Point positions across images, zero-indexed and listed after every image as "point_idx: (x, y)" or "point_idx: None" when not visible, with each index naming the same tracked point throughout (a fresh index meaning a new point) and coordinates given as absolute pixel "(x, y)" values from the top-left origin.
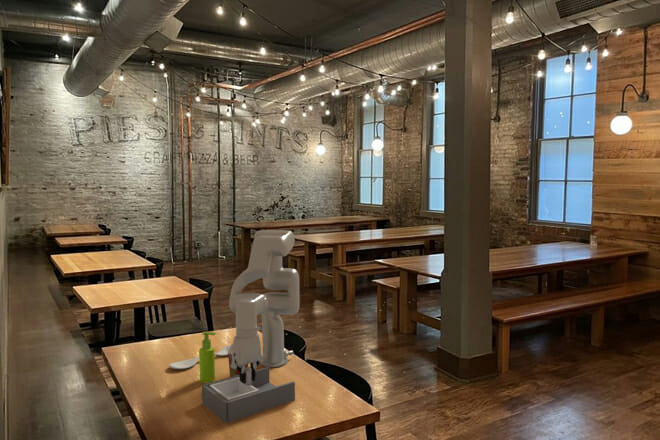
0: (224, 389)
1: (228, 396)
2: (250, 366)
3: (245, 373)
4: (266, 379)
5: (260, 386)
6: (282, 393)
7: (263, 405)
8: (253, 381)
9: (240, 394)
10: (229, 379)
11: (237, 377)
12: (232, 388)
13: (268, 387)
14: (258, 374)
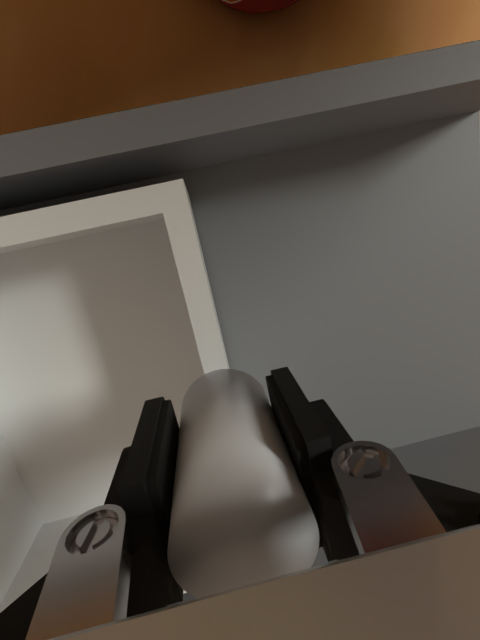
0: (16, 248)
1: (71, 287)
2: (335, 479)
3: (181, 596)
4: (476, 104)
5: (381, 161)
6: None
7: None
8: (350, 127)
9: (174, 294)
10: (56, 166)
11: (161, 186)
12: (109, 228)
13: (425, 211)
14: (441, 97)
